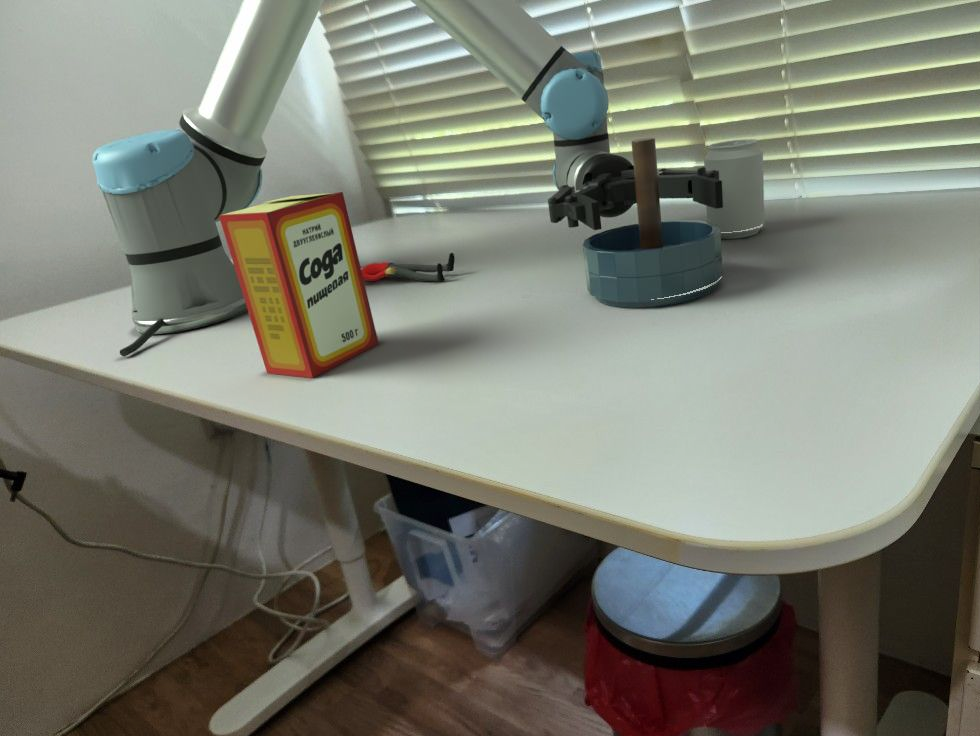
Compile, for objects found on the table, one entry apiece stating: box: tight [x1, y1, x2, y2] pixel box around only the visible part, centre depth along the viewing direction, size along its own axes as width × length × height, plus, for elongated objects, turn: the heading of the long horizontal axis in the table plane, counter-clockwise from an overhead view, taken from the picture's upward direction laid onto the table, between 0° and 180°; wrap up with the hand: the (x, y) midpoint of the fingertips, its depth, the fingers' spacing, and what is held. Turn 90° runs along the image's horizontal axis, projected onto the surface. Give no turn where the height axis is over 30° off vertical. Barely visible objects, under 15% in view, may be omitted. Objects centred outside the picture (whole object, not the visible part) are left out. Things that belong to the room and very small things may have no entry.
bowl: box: [581, 219, 724, 309], centre depth 82 cm, size 15×15×6 cm
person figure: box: [361, 252, 456, 282], centre depth 104 cm, size 5×4×18 cm
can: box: [703, 138, 765, 240], centre depth 99 cm, size 8×8×12 cm
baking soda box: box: [219, 191, 380, 379], centre depth 73 cm, size 10×6×16 cm
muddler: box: [631, 137, 663, 250], centre depth 79 cm, size 5×5×15 cm
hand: (658, 205), depth 76 cm, fingers open, 12 cm apart
